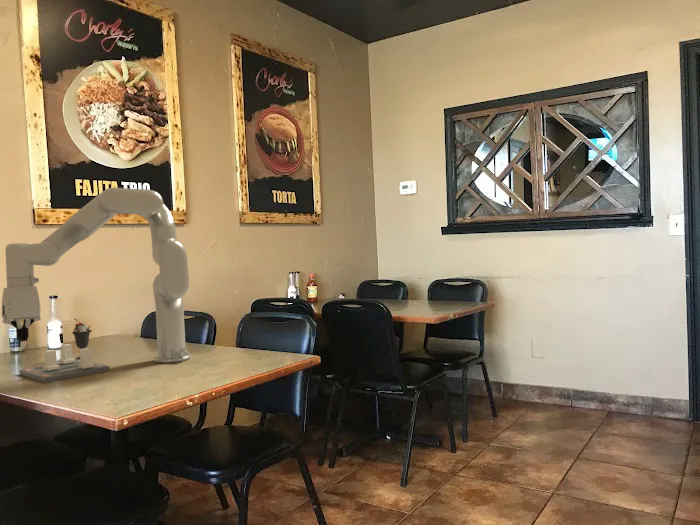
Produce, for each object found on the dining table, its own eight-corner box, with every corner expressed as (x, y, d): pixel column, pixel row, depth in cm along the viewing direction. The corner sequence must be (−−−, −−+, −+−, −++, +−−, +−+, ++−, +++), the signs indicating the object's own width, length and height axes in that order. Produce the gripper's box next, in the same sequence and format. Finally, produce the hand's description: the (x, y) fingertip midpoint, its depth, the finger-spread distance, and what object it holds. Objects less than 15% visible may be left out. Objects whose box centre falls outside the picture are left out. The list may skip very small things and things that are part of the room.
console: (109, 370, 193) (109, 365, 193) (45, 383, 179) (45, 377, 179) (80, 363, 208) (80, 358, 208) (19, 374, 193) (19, 369, 193)
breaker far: (75, 361, 201) (74, 344, 201) (64, 363, 199) (63, 346, 198) (70, 360, 204) (69, 343, 204) (59, 362, 201) (58, 345, 201)
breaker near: (94, 366, 191) (93, 348, 191) (83, 368, 189) (82, 350, 188) (89, 365, 194) (88, 347, 194) (78, 367, 191) (77, 349, 191)
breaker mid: (59, 368, 190) (58, 350, 190) (48, 370, 188) (46, 352, 188) (54, 367, 193) (53, 349, 193) (43, 369, 190) (42, 351, 190)
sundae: (69, 359, 217) (66, 319, 217) (84, 355, 223) (82, 316, 223) (81, 360, 214) (78, 319, 214) (96, 356, 220) (94, 317, 220)
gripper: (41, 281, 192) (43, 336, 192) (-11, 283, 181) (-8, 343, 181) (50, 281, 187) (52, 338, 187) (-3, 284, 176) (0, 345, 176)
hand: (22, 340), depth 184 cm, fingers closed
